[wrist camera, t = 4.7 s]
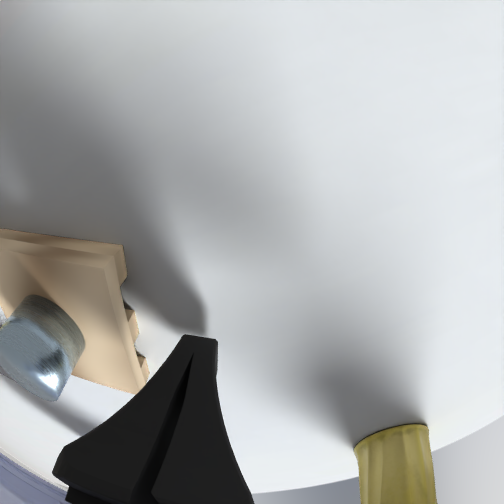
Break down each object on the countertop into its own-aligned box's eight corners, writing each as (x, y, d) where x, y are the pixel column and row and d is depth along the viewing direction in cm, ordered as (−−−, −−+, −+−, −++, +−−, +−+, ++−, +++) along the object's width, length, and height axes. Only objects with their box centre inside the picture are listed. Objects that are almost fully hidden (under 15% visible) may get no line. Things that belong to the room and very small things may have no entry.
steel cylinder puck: (71, 303, 10) (34, 357, 8) (95, 362, 12) (70, 411, 10) (13, 287, 11) (-23, 329, 8) (39, 343, 12) (13, 384, 10)
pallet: (127, 239, 11) (103, 268, 9) (152, 367, 15) (141, 395, 13) (0, 223, 11) (-25, 243, 9) (42, 335, 15) (28, 357, 14)
